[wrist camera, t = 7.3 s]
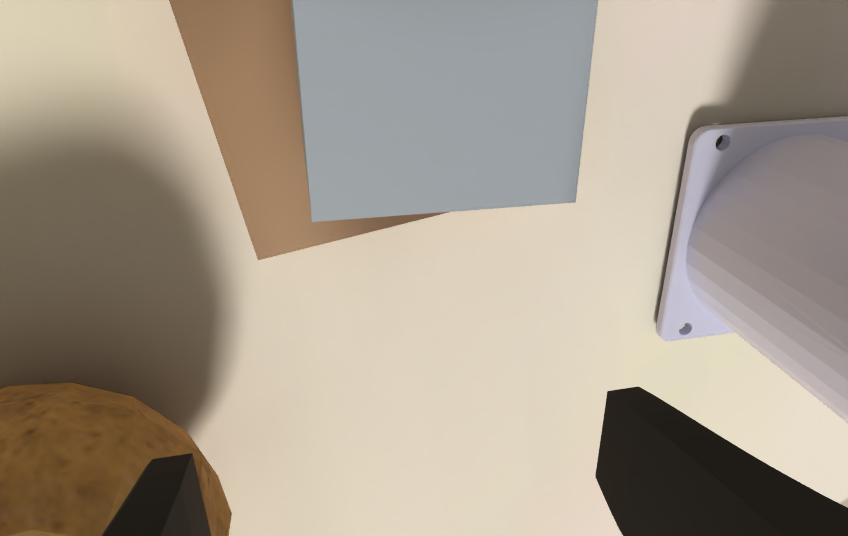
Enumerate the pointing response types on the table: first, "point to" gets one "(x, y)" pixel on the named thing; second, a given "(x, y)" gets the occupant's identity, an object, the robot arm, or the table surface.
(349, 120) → the cube
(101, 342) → the table surface
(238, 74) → the walnut block
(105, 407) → the potato
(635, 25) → the table surface
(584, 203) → the table surface
